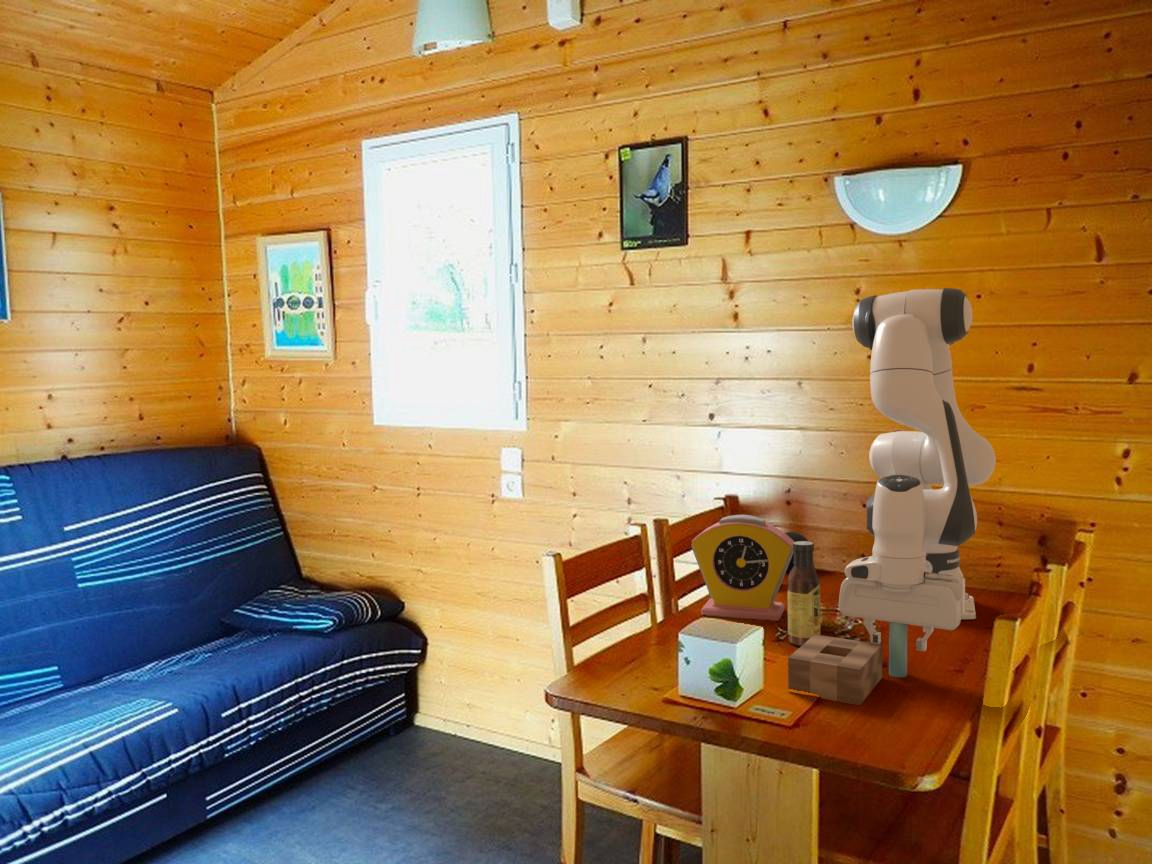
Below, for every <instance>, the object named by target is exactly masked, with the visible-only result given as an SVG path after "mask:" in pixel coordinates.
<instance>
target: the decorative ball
mask: <svg viewBox="0 0 1152 864" xmlns="http://www.w3.org/2000/svg"><path fill="white" fill-rule="evenodd" d="M784 533H785V534H786V535H788V536H789V537H790V538H791V539H792V540H793V541H794V542H798V541H808V542H810V541H809V540H808V539H807V538H806V537H805V536H804V535H803V534H801V533H798V532H795V531H788V532H784ZM793 562H794V552H793V555H792V558H791V560H790V563H789V565H788V568H787V570H786V572H787V571H788V572H790V571H791V570H792V568H793V567H794V563H793Z"/></svg>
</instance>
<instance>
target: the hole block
mask: <svg viewBox="0 0 1152 864" xmlns="http://www.w3.org/2000/svg"><path fill="white" fill-rule="evenodd" d="M787 659H788V661H787V663H788V664H787V667H788V668H787V670H788V671H787V672H788V673H787V677H788V680H787V682H788V687H787V689H793V690H797V691H804V692H808V693H813V694H817V695H819V696H820V697H821V698H820V699H823V700H829V701H834V702H835V701H836V702H839V703H845V704H850V705H856V706H861V704H863V703H864V701H865V700H866V698H868V696H869V695H870V693H871V692H872V691H873V690H874V689H875V687H876V686H877V685H878V684H879V682H880V681H881V680H882V678H883V644H881V643H879V644H875V643H870V641H869V642H868V641H861V640H854V639H847V638H841V637H834V636H828V635H821V634H820V635H815V634H814V635H813V636H812V637H811V638H810V639H809V640H808V641H807V642H805V643H804V644H803V645H802V646H799V648H798V649H796V650H795V651H793V653H792V654H790V655H789V656H788V658H787Z"/></svg>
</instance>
